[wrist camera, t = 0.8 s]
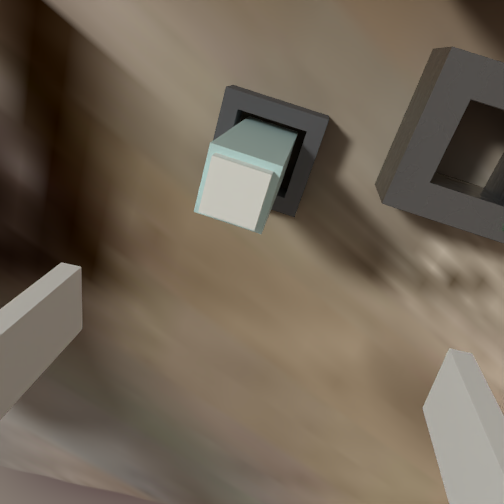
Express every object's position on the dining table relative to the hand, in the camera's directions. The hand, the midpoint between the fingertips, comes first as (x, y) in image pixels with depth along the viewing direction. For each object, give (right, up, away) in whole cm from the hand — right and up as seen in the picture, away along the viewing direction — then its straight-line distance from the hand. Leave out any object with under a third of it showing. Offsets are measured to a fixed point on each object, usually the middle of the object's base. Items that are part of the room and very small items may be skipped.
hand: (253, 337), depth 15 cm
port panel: (+16, +11, +16) cm, 25 cm away
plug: (+1, +11, +19) cm, 22 cm away
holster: (+1, +11, +19) cm, 22 cm away
